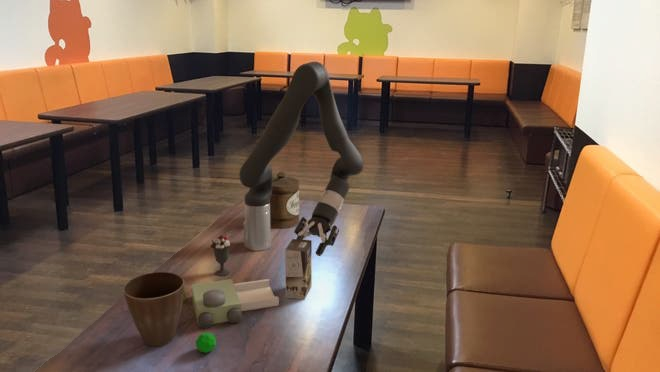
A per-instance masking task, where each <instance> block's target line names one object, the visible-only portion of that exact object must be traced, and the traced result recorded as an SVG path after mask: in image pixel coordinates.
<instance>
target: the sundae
mask: <svg viewBox="0 0 660 372" xmlns="http://www.w3.org/2000/svg"><path fill="white" fill-rule="evenodd" d="M227 232H228V230H226V229H225V230H224V232H223V233H222V234H220V235H219V236H217V237H216V239H215V240H211V242H212V243H211V244H210V248H212V249H213V253H214V258H215V262H217V263H218V264H219V265H220V267H219V269H218V270H216V271H215V272H214V275H216V276H218V277H223V276H225V277H226V276H227V275H229V274H230V273H231V271H230V270H229V269H226V268H225V263H227V261H229V254H230V247H232V243H231V242H230V240H229V239H228V236H226V233H227Z"/></svg>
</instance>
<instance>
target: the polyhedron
mask: <svg viewBox="0 0 660 372" xmlns="http://www.w3.org/2000/svg"><path fill="white" fill-rule="evenodd" d="M216 344H217V340H216V337H215V336H214V335H213V334H212V333H210V332H206V331H205V332H203V333H202V334H199V335H198V336H197V338H196V341H195V347H196V348H197V350H199V352H201V353H205V354H206V353H209V352H211V351H213V350H214V349H215V347H216Z"/></svg>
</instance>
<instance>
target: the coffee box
mask: <svg viewBox="0 0 660 372" xmlns="http://www.w3.org/2000/svg"><path fill="white" fill-rule="evenodd" d="M312 242H313V241H312V240H310V239H303V240H300V239H299V240H298V239H297V238H296V239H295V238H292V239H291V241H290V243H289V244H288V245H287V247H286V248H285V250H284V251H285V257H284V258H285V262H284V263H285V264H284V265H285V266H284V267H285V270H284V271H285V298H288V299H298V300H303V301H304V300H306V298H307V296H308V294H309V293H310V290H311V288H312V286H313V285H312V284H313V282H312V280H313V279H312V277H313V276H312V269H313V268H312V252H313V251H312V247H313V246H312V245H313V243H312Z"/></svg>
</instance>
